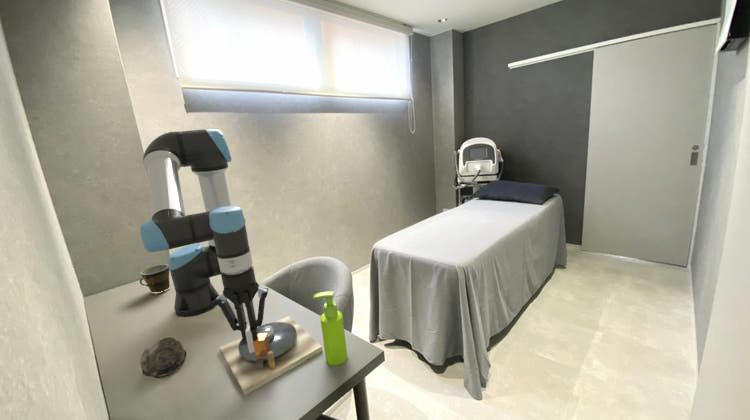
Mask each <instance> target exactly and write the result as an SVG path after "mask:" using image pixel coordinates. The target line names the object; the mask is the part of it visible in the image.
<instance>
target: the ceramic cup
mask: <svg viewBox="0 0 750 420" xmlns="http://www.w3.org/2000/svg"><path fill="white" fill-rule="evenodd" d="M140 275H141V278H140V280H139V284H140V285H141V286H146V287H148V288H149V291H150V293H151V292H161V291H164V290H166V289H168V288H169V287H170V270H169V264H163V263H162V264H157V265H154V266H150V267H148V268H147V267H146V268H144V269H143V270H142V271H140ZM143 281H144V282H145V283H143Z"/></svg>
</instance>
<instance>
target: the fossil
mask: <svg viewBox="0 0 750 420" xmlns="http://www.w3.org/2000/svg"><path fill="white" fill-rule="evenodd" d="M186 359H187V350H186V349H185V348H184V346H183V343H182V341H181V340H178V339H176V338H175V337H173V336H165V337H162V338H159V339H157V340H156V341H154V342H153V343H151V345H149V346H147V347H146V348H144V350H143V351H142V353H141V357H140V363H139V364H140V368H141V372H142V375H144V376H145V377H152V378H155V379H162V378H163V379H164V378H166V377H170V376H172V375H173V374H175V373H176V372H178V371H179V369H180V368H181V367H182V366H183V365H184V363H185V361H186Z"/></svg>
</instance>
